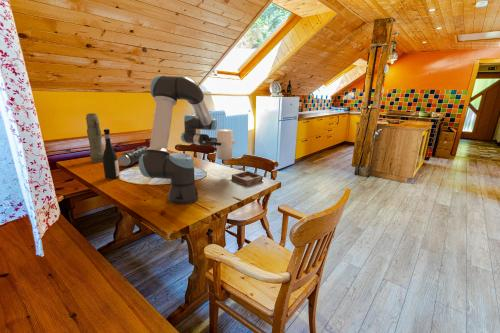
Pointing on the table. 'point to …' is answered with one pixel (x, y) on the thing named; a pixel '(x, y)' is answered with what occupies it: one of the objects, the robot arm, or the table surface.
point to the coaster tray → (247, 178)
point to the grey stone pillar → (94, 138)
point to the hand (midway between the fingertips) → (230, 143)
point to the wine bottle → (110, 159)
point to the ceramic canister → (227, 137)
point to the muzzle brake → (132, 156)
